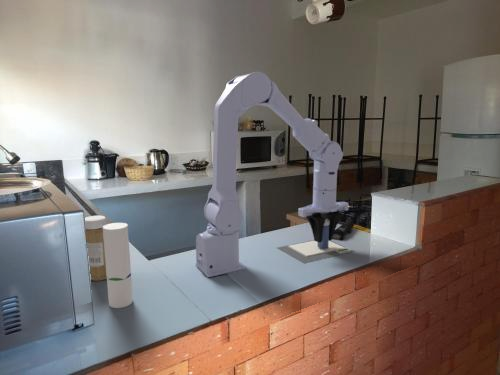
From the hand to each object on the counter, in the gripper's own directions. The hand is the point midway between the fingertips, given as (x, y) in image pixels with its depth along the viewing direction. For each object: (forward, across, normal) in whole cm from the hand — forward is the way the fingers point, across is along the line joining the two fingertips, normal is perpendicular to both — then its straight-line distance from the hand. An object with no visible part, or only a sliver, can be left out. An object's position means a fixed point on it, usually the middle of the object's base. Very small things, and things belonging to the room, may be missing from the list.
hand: (322, 240), depth 99 cm
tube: (+3, -51, -4) cm, 51 cm away
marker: (+2, 0, 0) cm, 2 cm away
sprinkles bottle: (+3, -53, +10) cm, 54 cm away
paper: (+3, -1, +2) cm, 3 cm away
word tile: (+3, +4, -4) cm, 6 cm away
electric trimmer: (+3, +14, +8) cm, 16 cm away
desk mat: (+3, -2, 0) cm, 3 cm away
